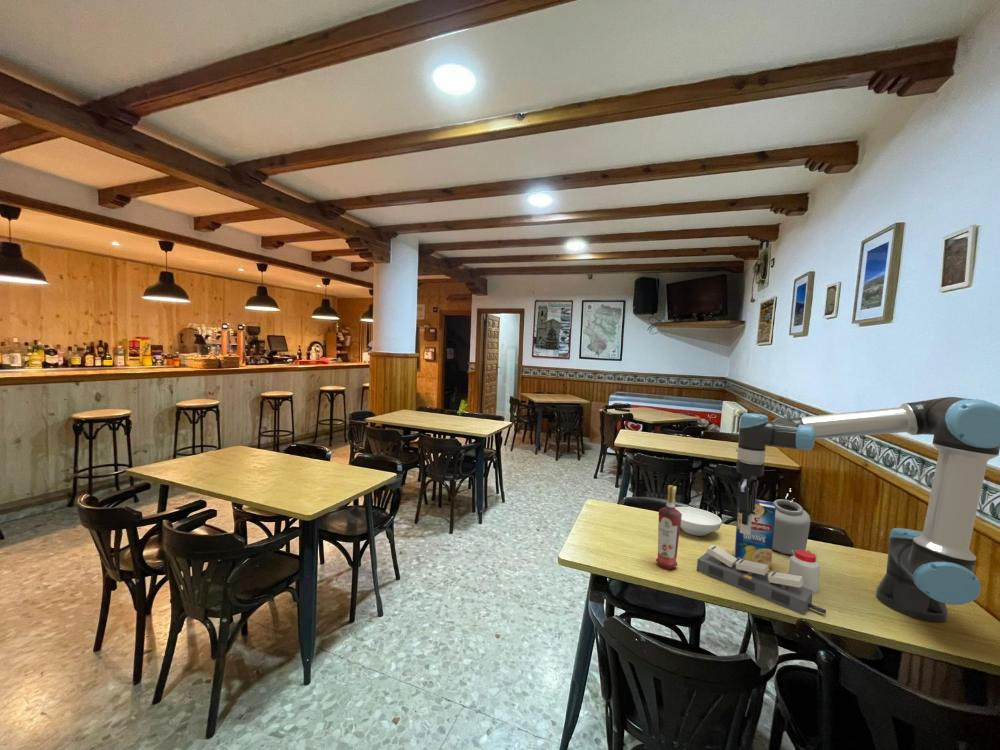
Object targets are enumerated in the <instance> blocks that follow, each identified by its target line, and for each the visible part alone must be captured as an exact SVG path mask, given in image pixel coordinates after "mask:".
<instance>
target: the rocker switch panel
mask: <svg viewBox="0 0 1000 750" xmlns="http://www.w3.org/2000/svg"><path fill="white" fill-rule="evenodd" d="M696 571H697V572H700V573H701V572H702V573H701V574H704V575H706V574H707V575H706V576H709V577H711V578H713V577H714V578H713V579H716V580H719V581H721V582H723V583H726V584H729V586H733V587H735V586H736V588H738V589H740V588H741V590H742V589H743V590H742V591H745V592H747V593H750V594H752V595H754V596H758V597H760V598H762V599H764V600H766V601H769V602H771V603H775V604H776V605H779V606H782V607H783V608H786V609H788V610H791V611H793V612H796V613H798V614H799V615H800V614H801V615H802V616H805V615H806V614H807V612H808V610H809V609H811V610H814V611H817V612H819V613H821V614H823V615H826V614H827V610H826V609H825V608H822V607H820V606H817V605H815V604H812V600H813V593H812V592H813V590H810V589H807V588H804V587H802V586H801V587H800V588H799V587H793V586H788V585H782V584H776V583H770V582H769V580H768V575H769V574H770V573H768V572H767V573H766V574H765V575H761V574H757V573H752V572H748V571H744V570H739V569H736V564H734V565H733V566H732V567H729V566H728V565H726V564H724V563H723V562H721V561H719V560H718V559H716V558H715V557H713V556H711V555H710V554H708V553H707V552H705V553H704V554H702V555H701V556H700V557H698V558H697V563H696Z"/></svg>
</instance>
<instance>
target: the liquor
mask: <svg viewBox="0 0 1000 750" xmlns="http://www.w3.org/2000/svg"><path fill="white" fill-rule="evenodd" d="M676 493H677V486H676V485H673V484H671V485H670V484H668V485H667V498H666V504H665V506H664V507H662V508H659V509H658V526H657V527H658V535H657V536H658V537H657V539H658V541H657V558H655V561H656V562H657V564H658V565H659V566H660V567H661V568H663V569H666V570H672V569H675V568H677V566H678V562H677V559H678V558H677V557H678V548H679V547H678V546H679V541H680V540H679V538H680V532H681V527H680V525H681V517H682V514H681V513H680V512H679V511H678V510H677V509H675V507H676Z"/></svg>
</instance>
